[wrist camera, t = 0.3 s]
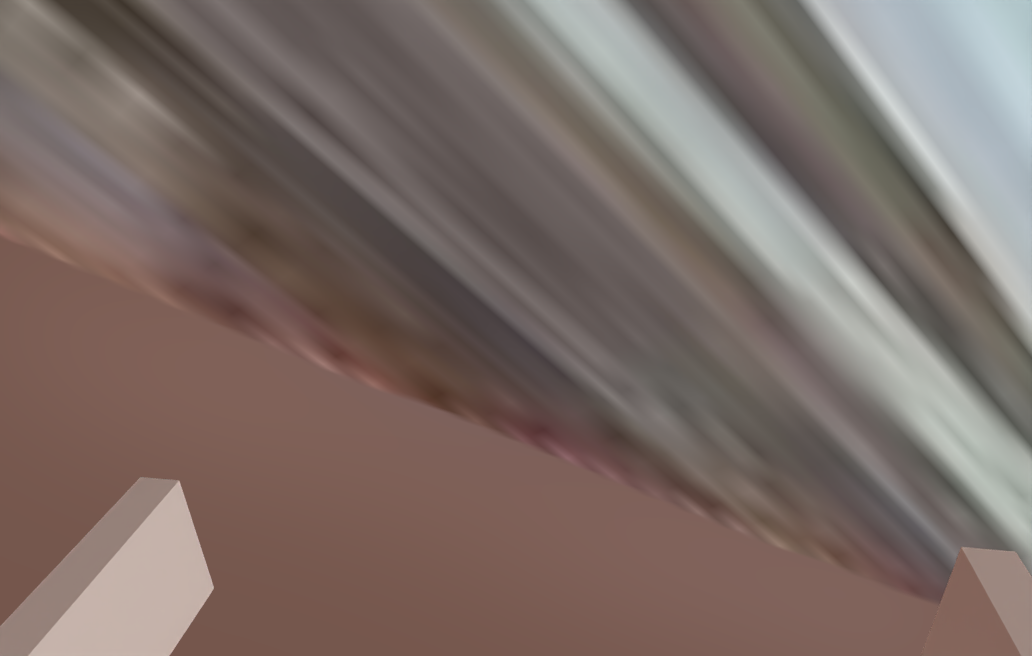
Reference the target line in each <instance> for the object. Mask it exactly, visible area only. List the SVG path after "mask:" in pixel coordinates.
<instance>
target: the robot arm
mask: <svg viewBox="0 0 1032 656" xmlns="http://www.w3.org/2000/svg"><path fill="white" fill-rule="evenodd" d="M213 589H214V587H213V584H212V580H211V577H210V574H209V571H208V568H207V565H206V562H205V559H204V556H203V553H202V550H201V546H200V543H199V541H198V537H197V534H196V531H195V528H194V525H193V522H192V519H191V516H190V513H189V510H188V507H187V503H186V500H185V497H184V494H183V491H182V488H181V485H180V482H179V481H178V480H166V479H154V478H143V477H141V478H140V479H139V480H138V481H137V482H136V483H135V484H134V485H133V486H132V487H131V488H130V489H129V490H128V491H127V492H126V493H125V494H124V495H123V496H122V498H121V499H120V500H119V501H118V502H117V503H116V504H115V505H114V506H113V507H112V508H111V509H110V510H109V511H108V512H107V513H106V515H105V516H104V517H103V518H102V519H101V520H100V521H99V522H98V523H97V524H96V525H95V526H94V527H93V528H92V529H91V530H90V532H89V533H88V534H87V535H86V536H85V537H84V538H83V539H82V540H81V541H80V542H79V543H78V544H77V545H76V547H74V549H73V550H72V551H71V552H70V553H69V554H68V555H67V556H66V557H65V558H64V559H63V560H62V562H60V563H59V564H58V566H57V567H56V568H55V569H54V570H53V571H52V572H51V573H50V574H49V575H48V576H47V577H46V578H45V579H44V580H43V582H42V583H41V584H40V585H39V586H38V587H37V588H36V589H35V590H34V591H33V592H32V593H31V594H30V595H29V596H28V597H27V598H26V600H25V601H24V602H23V603H22V604H21V605H20V606H19V607H18V608H17V609H16V610H15V611H14V612H13V613H12V615H10V617H9V618H8V619H7V620H6V621H5V622H4V623H3V624H2V625H1V626H0V656H169V655H170V654H171V652H172V651H173V649H174V648H175V646H176V645H177V643H178V642H179V640H180V639H181V637H182V636H183V634H184V633H185V631H186V629H187V628H188V627H189V625H190V624H191V622H192V621H193V619H194V618H195V616H196V615H197V613H198V611H199V610H200V609H201V607H202V606H203V604H204V603H205V601H206V600H207V598H208V596H209V595H210V593H211V592H212V590H213ZM921 656H1032V577H1031V575H1030V574H1029V572H1028V571H1027V569H1026V567H1025V566H1024V564H1023V563H1022V561H1021V560H1020V558H1019V556H1018V555H1017V553H1016V552H1013V551H1001V550H990V549H978V548H966V547H961V549H960V552H959V555H958V557H957V560H956V563H955V565H954V568H953V571H952V573H951V576H950V579H949V581H948V584H947V587H946V589H945V592H944V595H943V597H942V600H941V603H940V606H939V608H938V611H937V614H936V616H935V619H934V622H933V624H932V627H931V630H930V632H929V635H928V638H927V640H926V643H925V646H924V648H923V651H922V654H921Z"/></svg>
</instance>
